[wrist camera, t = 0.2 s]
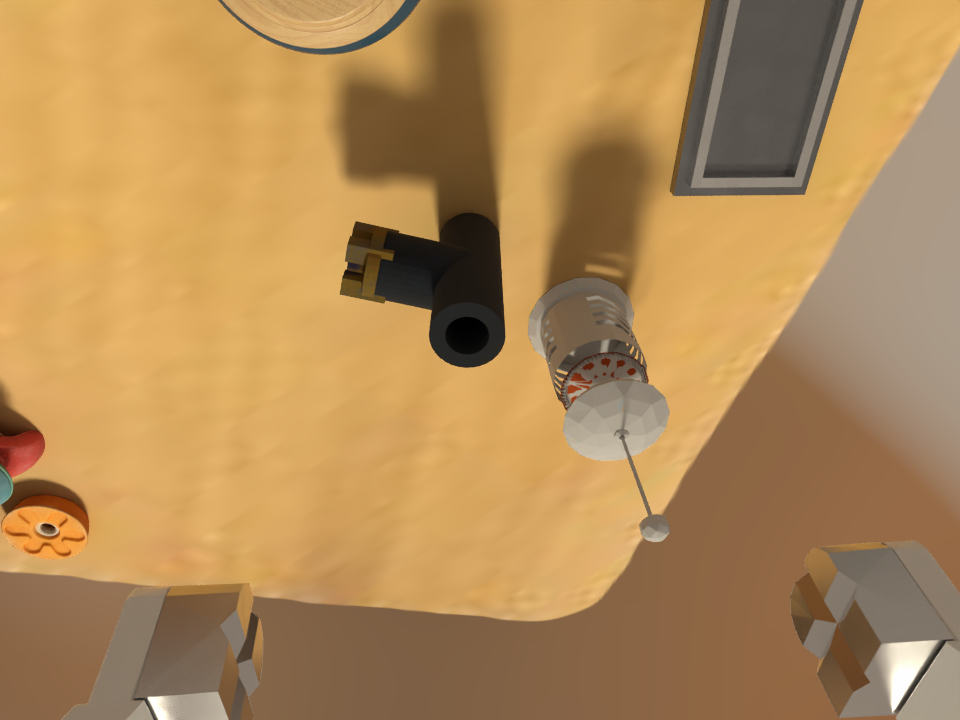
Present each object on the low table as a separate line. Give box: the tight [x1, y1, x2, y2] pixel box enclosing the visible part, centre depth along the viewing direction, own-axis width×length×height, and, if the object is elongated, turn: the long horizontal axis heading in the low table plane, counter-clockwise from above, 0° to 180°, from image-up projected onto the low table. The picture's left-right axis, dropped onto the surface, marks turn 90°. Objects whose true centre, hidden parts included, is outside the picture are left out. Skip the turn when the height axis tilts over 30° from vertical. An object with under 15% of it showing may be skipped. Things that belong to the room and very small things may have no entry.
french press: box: [528, 277, 670, 542], centre depth 56 cm, size 10×12×25 cm
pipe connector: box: [340, 213, 505, 368], centre depth 53 cm, size 12×5×15 cm, turn 76°
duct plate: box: [670, 0, 864, 196], centre depth 53 cm, size 19×11×2 cm, turn 179°
